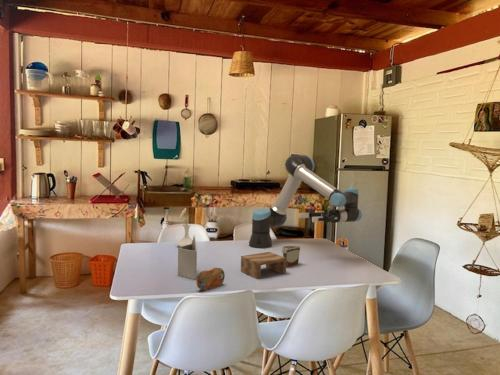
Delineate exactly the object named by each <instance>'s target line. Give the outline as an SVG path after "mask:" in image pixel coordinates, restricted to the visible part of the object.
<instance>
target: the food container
mask: <svg viewBox="0 0 500 375" xmlns="http://www.w3.org/2000/svg"><path fill="white" fill-rule="evenodd" d="M281 249H282V250H281V253H282V257H285V258H287V259H286V269H289V268H293V267H296V266H298V265H299V262H300V261H299V259H300V251H301V246H298V245H284V246H283V247H282V248H281Z"/></svg>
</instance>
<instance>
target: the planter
mask: <svg viewBox="0 0 500 375" xmlns="http://www.w3.org/2000/svg"><path fill="white" fill-rule="evenodd" d="M192 240H193V241H192V243H191V244H189V245H186V246H182V247H180V246H178V249H177V251H178V252H177V276H180V277H182V276H183V277H182V278H186V279H187V278H188V279H190V278H191V279H192V280H195V279H196V280H197V271H198V270H197V266H198V264H197V262H198V261H197V259H198V256H197V255H198V250H197V243H196V235H193V236H192Z"/></svg>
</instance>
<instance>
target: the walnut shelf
mask: <svg viewBox="0 0 500 375" xmlns="http://www.w3.org/2000/svg"><path fill="white" fill-rule="evenodd" d="M286 259H287V258H285V257H283V255H279V254H276V253H273V252H271V251H266V252H265V251H264V252H260V253H253V254H247V255H241V256H240V272H241V273H243V274H245V275H247V276H249V277H252V278H254V279H256V280H259V279H261V272H262V271H261V270H262V266H265V268H267V269H269V270H272V271H275V272H277V273H279V274H281V275H285V274H287V268H286Z"/></svg>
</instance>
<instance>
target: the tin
mask: <svg viewBox="0 0 500 375" xmlns="http://www.w3.org/2000/svg"><path fill="white" fill-rule="evenodd" d="M225 276H226V275H225V271H224V270H223V268H220V267H213V268H208V269H205V270H202V271H201V272H198V275H196V286H197V288H198V289H200V290H202V291H210V290H211V289H215V288H218V287H220V286H221V285H222V284H223V283H224V280H225Z"/></svg>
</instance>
